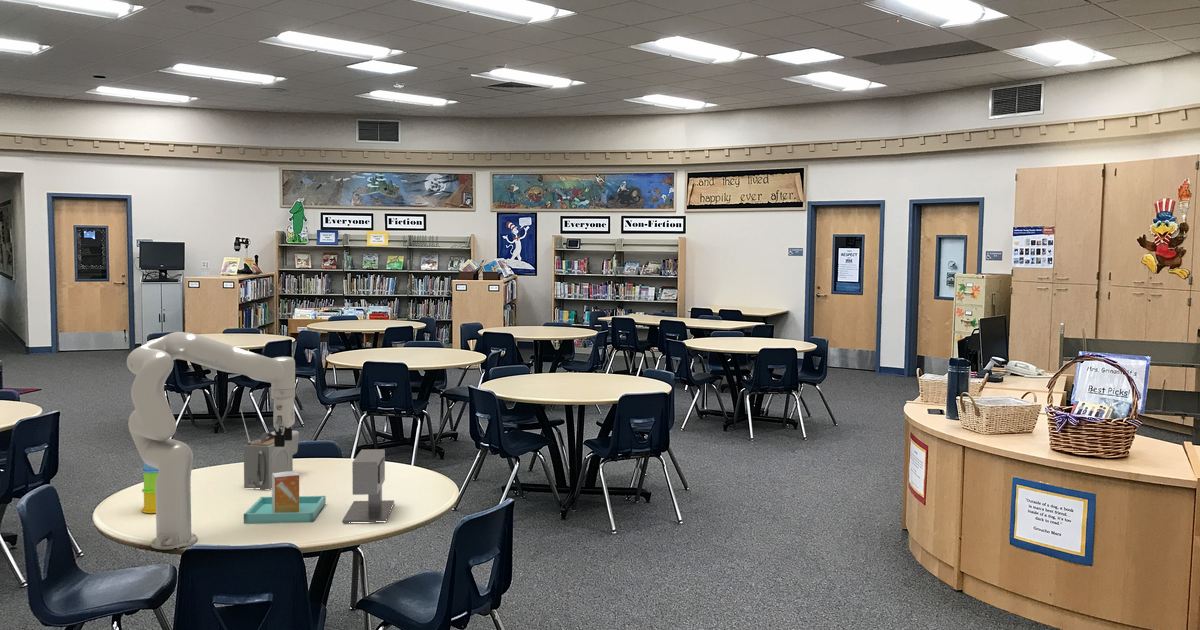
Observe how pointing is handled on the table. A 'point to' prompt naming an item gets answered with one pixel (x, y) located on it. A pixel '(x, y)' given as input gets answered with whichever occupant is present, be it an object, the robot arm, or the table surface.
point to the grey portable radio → (267, 459)
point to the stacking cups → (149, 488)
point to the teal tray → (265, 514)
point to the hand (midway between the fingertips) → (283, 443)
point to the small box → (285, 492)
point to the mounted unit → (369, 488)
